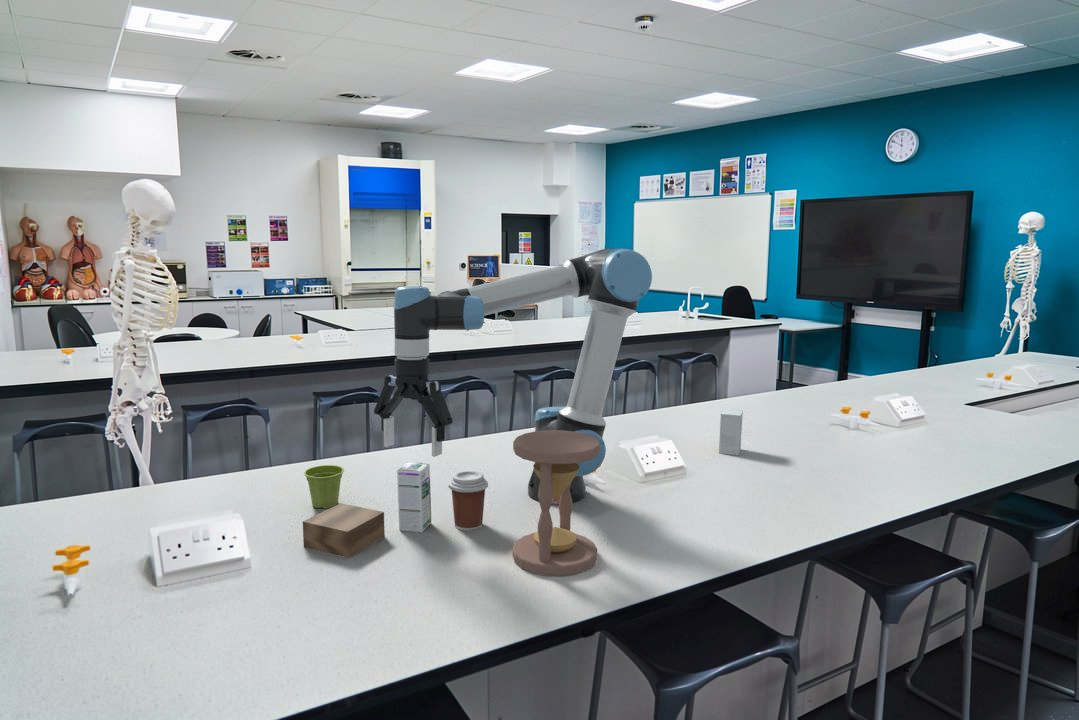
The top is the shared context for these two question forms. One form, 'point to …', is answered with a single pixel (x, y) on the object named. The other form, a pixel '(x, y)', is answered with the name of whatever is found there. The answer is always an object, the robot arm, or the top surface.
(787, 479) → the top surface
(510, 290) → the robot arm
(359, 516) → the base block
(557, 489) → the hourglass
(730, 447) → the small box
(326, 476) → the plant pot
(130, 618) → the top surface
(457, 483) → the coffee cup
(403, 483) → the syrup box
